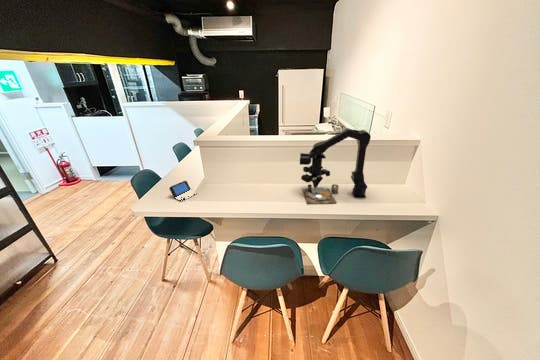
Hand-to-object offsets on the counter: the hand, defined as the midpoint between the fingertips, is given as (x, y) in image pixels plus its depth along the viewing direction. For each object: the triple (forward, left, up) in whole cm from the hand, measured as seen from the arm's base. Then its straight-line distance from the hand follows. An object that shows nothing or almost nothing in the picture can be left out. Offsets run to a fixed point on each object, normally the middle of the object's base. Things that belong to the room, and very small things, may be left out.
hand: (315, 187), depth 134 cm
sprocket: (-1, +5, -2) cm, 6 cm away
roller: (-12, 0, -4) cm, 13 cm away
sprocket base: (-1, +5, -4) cm, 6 cm away
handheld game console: (+83, 0, -4) cm, 84 cm away
